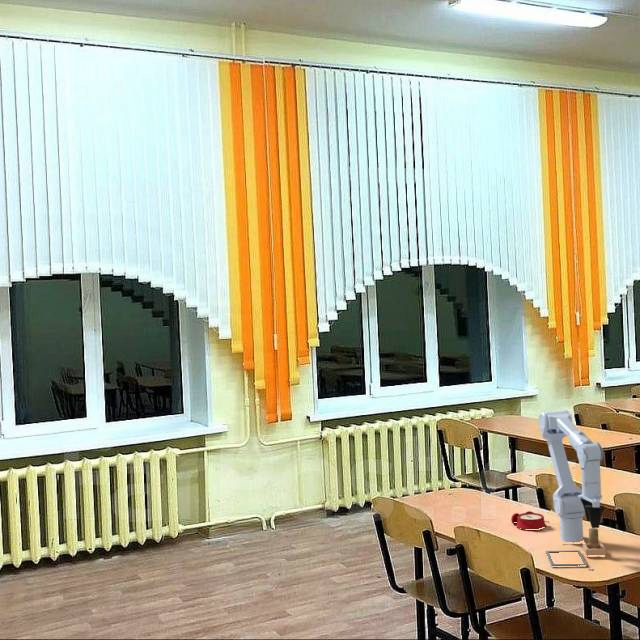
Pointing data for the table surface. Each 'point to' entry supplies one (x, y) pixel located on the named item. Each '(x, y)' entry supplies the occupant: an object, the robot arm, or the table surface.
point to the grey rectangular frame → (565, 564)
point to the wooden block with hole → (594, 550)
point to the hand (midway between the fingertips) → (592, 524)
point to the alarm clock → (529, 520)
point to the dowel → (593, 538)
